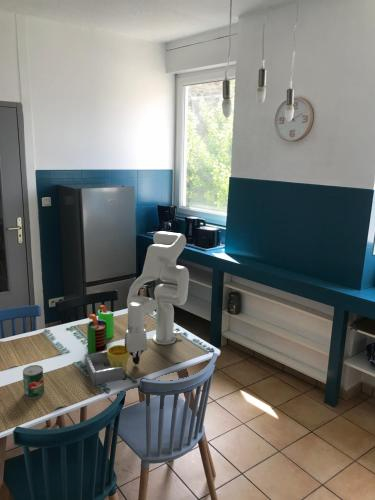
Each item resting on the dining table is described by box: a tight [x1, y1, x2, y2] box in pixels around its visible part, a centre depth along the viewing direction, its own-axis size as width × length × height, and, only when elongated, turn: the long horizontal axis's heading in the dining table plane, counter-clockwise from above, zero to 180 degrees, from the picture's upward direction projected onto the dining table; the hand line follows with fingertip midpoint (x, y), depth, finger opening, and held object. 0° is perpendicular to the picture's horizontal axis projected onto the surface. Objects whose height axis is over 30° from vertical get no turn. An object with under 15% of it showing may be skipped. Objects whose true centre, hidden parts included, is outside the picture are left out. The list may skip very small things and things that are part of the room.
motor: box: [86, 313, 108, 354], centre depth 203 cm, size 10×9×20 cm
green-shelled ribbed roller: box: [97, 304, 115, 339], centre depth 221 cm, size 9×8×18 cm
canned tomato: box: [22, 364, 45, 400], centre depth 168 cm, size 8×8×11 cm
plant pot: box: [106, 344, 131, 371], centre depth 189 cm, size 10×10×10 cm
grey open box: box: [84, 350, 125, 386], centre depth 186 cm, size 14×17×6 cm
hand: (136, 363), depth 193 cm, fingers closed
